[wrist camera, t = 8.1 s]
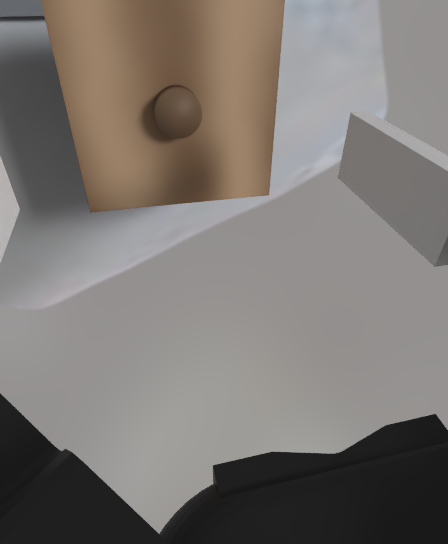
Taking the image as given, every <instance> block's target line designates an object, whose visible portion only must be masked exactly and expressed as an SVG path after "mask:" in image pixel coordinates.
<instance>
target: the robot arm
mask: <svg viewBox="0 0 448 544" xmlns="http://www.w3.org/2000/svg"><path fill="white" fill-rule="evenodd" d="M338 178H339V179H340V180H341V181H342V182H343V183H344V184H345V185H346V186H348V187H349V188H350V189H351V190H352V191H353V192H354V193H355V194H356V195H358V197H359V198H361V199H362V200H363V201H364V202H365V203H366V204H367V205H368V206H369V207H370V208H371V209H372V210H374V211H375V212H376V213H377V214H378V215H379V216H380V217H381V218H382V219H383V220H385V221H386V222H387V223H388V224H389V225H390V226H391V227H392V228H393V229H394V230H395V231H396V232H398V233H399V234H400V235H401V236H402V237H403V238H404V239H405V240H406V241H407V242H408V243H410V244H411V245H412V246H413V247H414V248H415V249H416V250H417V251H418V252H419V253H420V254H421V255H423V256H424V257H425V258H426V259H427V260H428V261H429V262H430V263H431V264H432V265H434V266H441V265H448V156H447V155H446V154H444V153H442V152H440V151H438V150H436V149H435V148H433V147H431V146H429V145H428V144H426V143H424V142H422V141H420V140H419V139H417V138H415V137H413V136H411V135H410V134H408V133H406V132H404V131H402V130H401V129H399V128H397V127H395V126H393V125H391V124H390V123H388V122H386V121H384V120H383V119H381V118H379V117H377V116H375V115H374V114H372V113H370V112H354V113H351V114H350V119H349V124H348V129H347V134H346V139H345V145H344V150H343V155H342V160H341V165H340V170H339V175H338ZM19 211H20V209H19V206H18V203H17V200H16V198H15V195H14V192H13V189H12V187H11V184H10V181H9V178H8V175H7V173H6V170H5V167H4V164H3V162H2V159H1V156H0V263H1V260H2V257H3V255H4V252H5V249H6V246H7V244H8V241H9V238H10V236H11V233H12V230H13V227H14V225H15V222H16V219H17V217H18V214H19ZM213 482H214V484H213V485H211V486H209V487H207V488H206V489H204V490H202V491H201V492H199V493H198V494H197V495H195V496H194V497H193V498H191V499H190V500H189V501H188V502H186V503H185V505H183V506H182V507H181V508H180V509H179V510H178V511H177V512H176V513H175V514H174V516H173V517H172V518H171V519H170V520H169V522H168V523H167V524H166V525H165V526H164V528H163V529H162V531H161V532H160V534H158V533H157V532H156V531H155V530H154V529H153V528H152V527H151V526H150V525H149V524H148V523H147V522H146V521H145V520H143V518H142V517H140V516H139V515H138V514H137V513H136V512H135V511H134V510H133V509H132V508H131V507H130V506H129V505H128V504H127V503H126V502H125V501H124V500H123V499H122V498H120V497H119V496H118V495H117V494H116V493H115V492H114V491H113V490H112V489H111V488H110V487H109V486H108V485H107V484H106V483H105V482H104V481H103V480H102V479H100V478H99V477H98V476H97V475H96V474H95V473H94V472H93V471H92V470H91V469H90V468H89V467H88V466H87V465H86V464H84V462H82V461H81V460H80V459H79V458H78V457H77V456H76V455H74V454H73V453H72V452H70V451H68V450H67V449H65V450H63V451H60V450H59V449H57V448H56V447H55V446H54V445H53V444H51V442H50V441H48V439H47V438H46V437H45V436H43V435H42V434H41V433H40V432H39V431H38V430H37V429H36V428H35V427H34V426H33V425H32V424H31V423H30V422H29V421H28V420H27V419H26V418H25V417H24V416H23V415H22V414H21V413H20V412H19V411H18V410H17V409H16V408H15V407H14V406H12V404H11V403H9V402H8V401H7V400H6V399H5V398H4V397H3V396H2V395H1V394H0V544H448V430H447V429H446V428H445V426H444V425H443V424H442V422H441V421H440V419H439V418H438V417H437V415H436V414H433V415H429V416H425V417H420V418H416V419H412V420H408V421H403V422H399V423H394V424H390V425H386V426H384V427H382V428H381V429H379V430H377V431H376V432H374V433H372V434H371V435H369V436H367V437H366V438H364V439H362V440H361V441H359V442H357V443H356V444H354V445H352V446H351V447H349V448H347V449H346V450H344V451H342V452H340V453H336V454H321V453H292V452H270V453H265V454H261V455H256V456H252V457H248V458H243V459H239V460H235V461H230V462H226V463H222V464H217V465H213Z"/></svg>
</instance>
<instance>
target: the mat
mask: <svg viewBox="0 0 448 544" xmlns="http://www.w3.org/2000/svg"><path fill="white" fill-rule="evenodd" d="M9 16H44V12H43V8H42V4H41V0H0V17H9Z"/></svg>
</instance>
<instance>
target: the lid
mask: <svg viewBox="0 0 448 544" xmlns="http://www.w3.org/2000/svg"><path fill="white" fill-rule="evenodd" d="M41 4H42V8H43V12H44V17H45V21H46V25H47V29H48V34H49V38H50V42H51V47H52V51H53V55H54V59H55V64H56V68H57V72H58V76H59V81H60V85H61V89H62V93H63V98H64V102H65V106H66V110H67V115H68V119H69V123H70V127H71V132H72V136H73V140H74V145H75V149H76V153H77V157H78V162H79V166H80V170H81V174H82V179H83V183H84V187H85V191H86V196H87V200H88V204H89V208H90V212H97V211H108V210H118V209H129V208H139V207H150V206H160V205H171V204H181V203H192V202H202V201H212V200H223V199H233V198H244V197H254V196H265V195H269V188H270V176H271V164H272V151H273V139H274V127H275V114H276V102H277V90H278V78H279V65H280V53H281V41H282V28H283V16H284V4H285V0H41Z"/></svg>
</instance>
